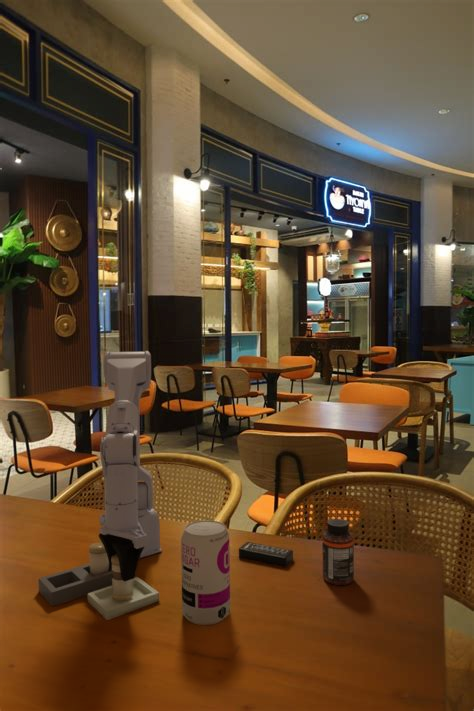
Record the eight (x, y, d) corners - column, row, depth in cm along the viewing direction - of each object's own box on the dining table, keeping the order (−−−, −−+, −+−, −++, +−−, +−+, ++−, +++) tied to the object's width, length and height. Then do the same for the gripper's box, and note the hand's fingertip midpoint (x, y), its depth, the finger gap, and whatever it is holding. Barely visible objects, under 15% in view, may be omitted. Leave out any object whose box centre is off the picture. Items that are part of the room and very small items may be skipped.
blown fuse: (127, 588, 98) (127, 550, 98) (137, 596, 95) (136, 557, 95) (108, 594, 96) (107, 556, 96) (117, 602, 93) (116, 563, 93)
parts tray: (137, 584, 102) (137, 577, 102) (159, 600, 96) (158, 592, 96) (87, 601, 96) (87, 593, 96) (107, 620, 90) (107, 611, 89)
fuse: (104, 575, 106) (103, 540, 106) (113, 582, 103) (112, 546, 103) (86, 580, 104) (85, 545, 104) (94, 588, 101) (93, 551, 101)
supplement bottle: (323, 571, 107) (323, 515, 106) (353, 573, 106) (353, 517, 105) (321, 585, 101) (321, 526, 101) (353, 587, 100) (353, 528, 99)
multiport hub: (285, 569, 109) (285, 558, 109) (238, 559, 114) (238, 548, 114) (293, 560, 113) (293, 550, 113) (247, 551, 118) (247, 541, 118)
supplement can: (236, 605, 94) (235, 521, 93) (220, 630, 86) (218, 539, 85) (194, 598, 96) (193, 517, 96) (174, 622, 89) (172, 533, 88)
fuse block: (108, 569, 108) (108, 557, 108) (124, 582, 103) (124, 569, 103) (38, 591, 100) (38, 578, 100) (52, 606, 94) (51, 592, 94)
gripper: (83, 495, 98) (85, 567, 99) (119, 515, 87) (120, 597, 87) (118, 487, 103) (120, 557, 103) (157, 506, 91) (158, 584, 92)
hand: (122, 575), depth 96 cm, fingers closed on blown fuse, 4 cm apart
